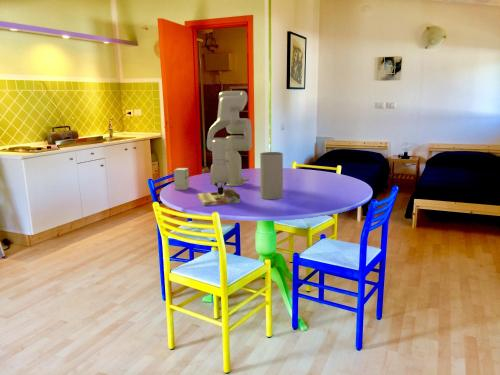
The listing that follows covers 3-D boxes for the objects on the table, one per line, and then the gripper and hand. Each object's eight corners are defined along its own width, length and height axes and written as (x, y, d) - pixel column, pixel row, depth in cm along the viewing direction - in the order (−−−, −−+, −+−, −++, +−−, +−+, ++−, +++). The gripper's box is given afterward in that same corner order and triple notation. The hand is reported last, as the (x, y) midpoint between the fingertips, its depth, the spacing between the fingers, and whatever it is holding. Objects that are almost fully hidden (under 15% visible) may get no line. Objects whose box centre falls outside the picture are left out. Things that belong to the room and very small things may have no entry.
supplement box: (185, 190, 257) (184, 170, 254) (174, 189, 258) (173, 169, 255) (189, 187, 264) (188, 167, 261) (178, 187, 265) (177, 167, 262)
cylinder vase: (268, 193, 244) (268, 151, 238) (286, 196, 237) (286, 152, 231) (256, 198, 234) (255, 154, 228) (275, 201, 227) (275, 155, 221)
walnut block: (231, 194, 235) (231, 188, 235) (233, 196, 231) (233, 190, 230) (223, 195, 234) (223, 189, 233) (225, 196, 230) (225, 190, 229)
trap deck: (231, 194, 244) (231, 187, 243) (240, 202, 226) (239, 195, 225) (197, 197, 239) (197, 190, 238) (203, 205, 220) (203, 198, 219)
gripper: (231, 160, 233) (232, 191, 237) (204, 161, 229) (206, 193, 233) (234, 162, 226) (235, 194, 230) (207, 164, 222) (208, 197, 226)
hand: (220, 194), depth 232 cm, fingers closed
